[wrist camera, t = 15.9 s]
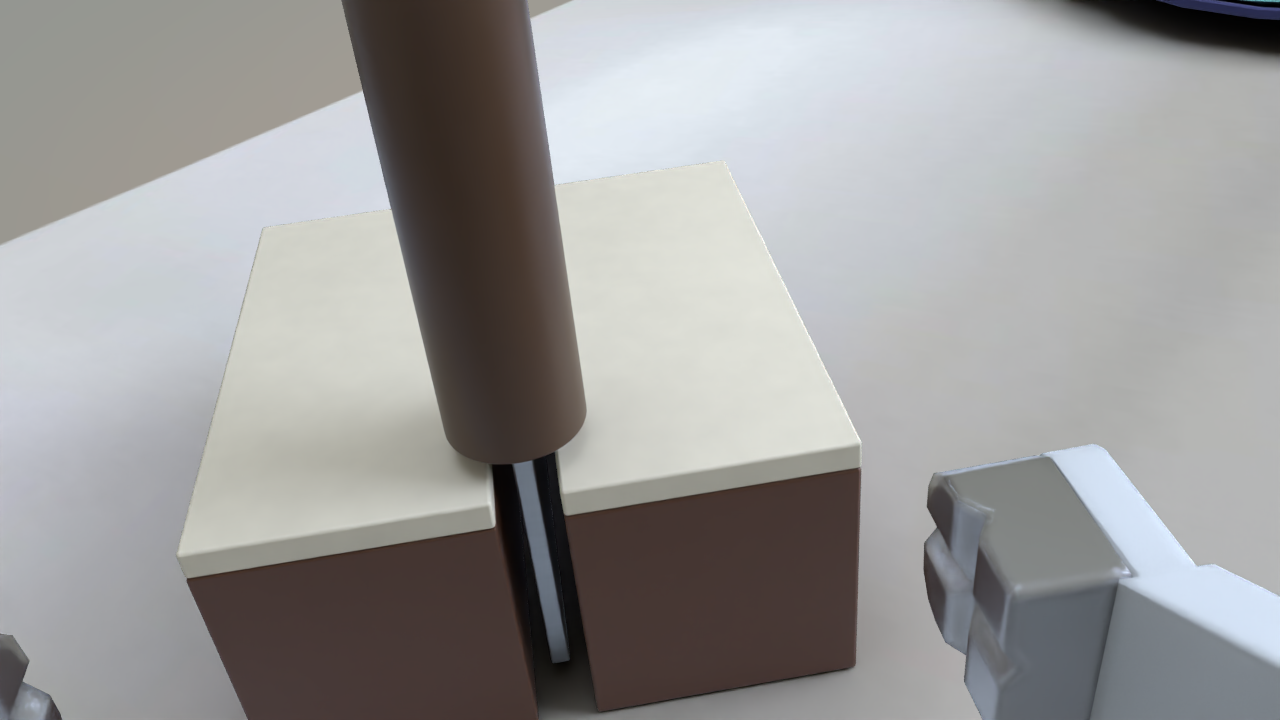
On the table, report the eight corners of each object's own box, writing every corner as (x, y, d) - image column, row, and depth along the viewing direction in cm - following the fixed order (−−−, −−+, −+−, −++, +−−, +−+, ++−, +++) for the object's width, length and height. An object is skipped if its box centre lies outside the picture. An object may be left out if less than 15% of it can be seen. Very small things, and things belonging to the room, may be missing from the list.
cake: (856, 668, 24) (863, 442, 20) (270, 771, 23) (173, 555, 20) (734, 347, 34) (724, 158, 30) (319, 412, 33) (261, 226, 29)
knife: (628, 682, 24) (517, -86, 15) (501, 704, 23) (313, -60, 15) (569, 339, 34) (483, -229, 25) (481, 353, 34) (364, -214, 25)
